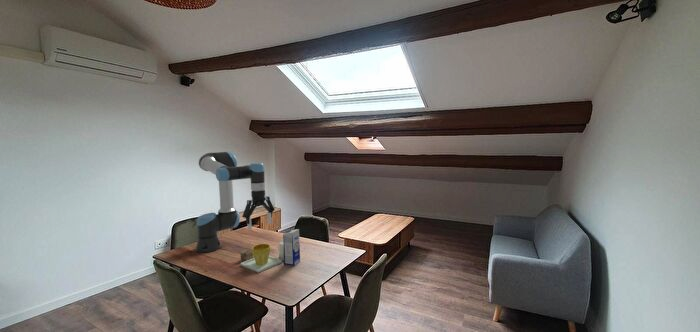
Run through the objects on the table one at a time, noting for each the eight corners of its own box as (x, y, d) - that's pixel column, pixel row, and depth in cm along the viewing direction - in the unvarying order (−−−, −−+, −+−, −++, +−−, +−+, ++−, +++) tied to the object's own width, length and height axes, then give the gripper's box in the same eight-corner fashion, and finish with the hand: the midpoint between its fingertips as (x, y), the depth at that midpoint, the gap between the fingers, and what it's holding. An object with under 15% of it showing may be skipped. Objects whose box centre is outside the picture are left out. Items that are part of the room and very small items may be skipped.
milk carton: (294, 266, 166) (292, 232, 164) (283, 264, 168) (282, 231, 166) (300, 261, 172) (299, 228, 171) (290, 260, 175) (289, 227, 173)
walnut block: (240, 260, 175) (240, 252, 175) (246, 257, 180) (246, 249, 180) (247, 261, 174) (247, 253, 173) (253, 258, 178) (252, 250, 178)
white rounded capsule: (276, 258, 178) (275, 243, 177) (285, 254, 184) (284, 240, 183) (284, 260, 174) (283, 246, 173) (292, 256, 179) (292, 242, 179)
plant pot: (265, 267, 164) (265, 250, 163) (249, 266, 166) (248, 249, 165) (274, 259, 174) (273, 244, 173) (258, 258, 176) (257, 243, 175)
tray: (240, 265, 168) (240, 263, 168) (264, 256, 181) (264, 253, 181) (258, 272, 158) (258, 270, 158) (282, 262, 172) (282, 259, 171)
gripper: (242, 194, 154) (244, 233, 156) (279, 187, 174) (281, 222, 176) (234, 192, 158) (236, 230, 160) (271, 186, 178) (273, 220, 180)
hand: (259, 226), depth 168 cm, fingers open, 13 cm apart
